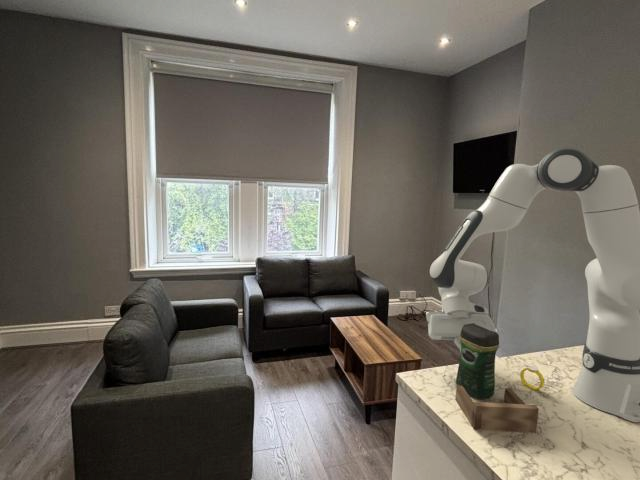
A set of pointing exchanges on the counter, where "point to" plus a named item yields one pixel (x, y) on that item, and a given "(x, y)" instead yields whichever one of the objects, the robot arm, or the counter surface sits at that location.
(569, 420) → the counter surface
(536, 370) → the watch
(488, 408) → the wooden frame
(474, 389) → the coffee jar
